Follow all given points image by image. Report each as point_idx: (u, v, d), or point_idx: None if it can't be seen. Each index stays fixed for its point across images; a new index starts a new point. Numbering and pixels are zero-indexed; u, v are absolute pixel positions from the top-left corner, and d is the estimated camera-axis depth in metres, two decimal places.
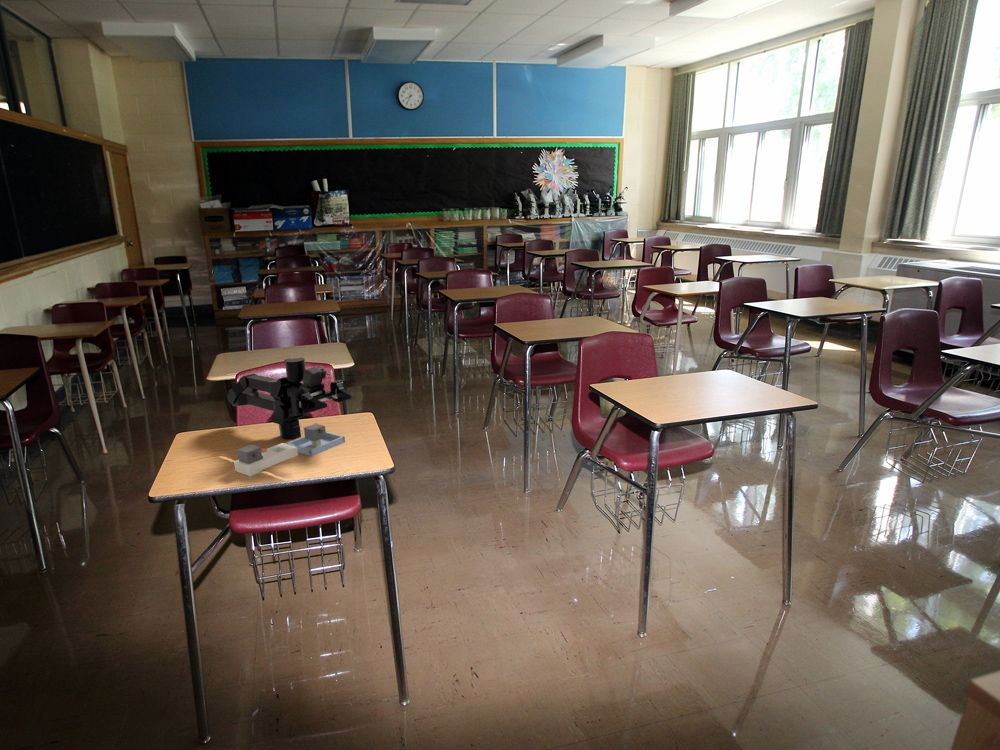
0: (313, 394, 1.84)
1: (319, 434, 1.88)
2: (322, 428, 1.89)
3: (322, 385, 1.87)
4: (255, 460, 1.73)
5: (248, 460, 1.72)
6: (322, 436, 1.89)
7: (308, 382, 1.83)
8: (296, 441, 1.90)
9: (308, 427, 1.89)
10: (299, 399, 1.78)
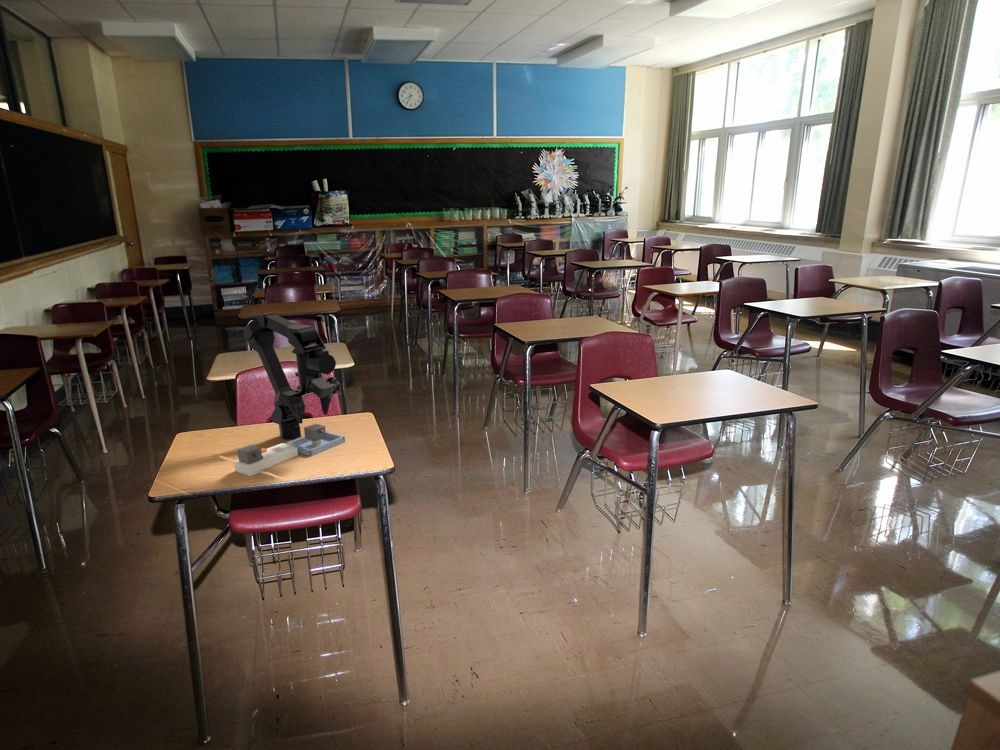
0: None
1: (319, 434, 1.88)
2: (322, 428, 1.89)
3: None
4: (255, 460, 1.73)
5: (248, 460, 1.72)
6: (322, 436, 1.89)
7: (313, 391, 1.81)
8: (296, 441, 1.90)
9: (308, 427, 1.89)
10: None
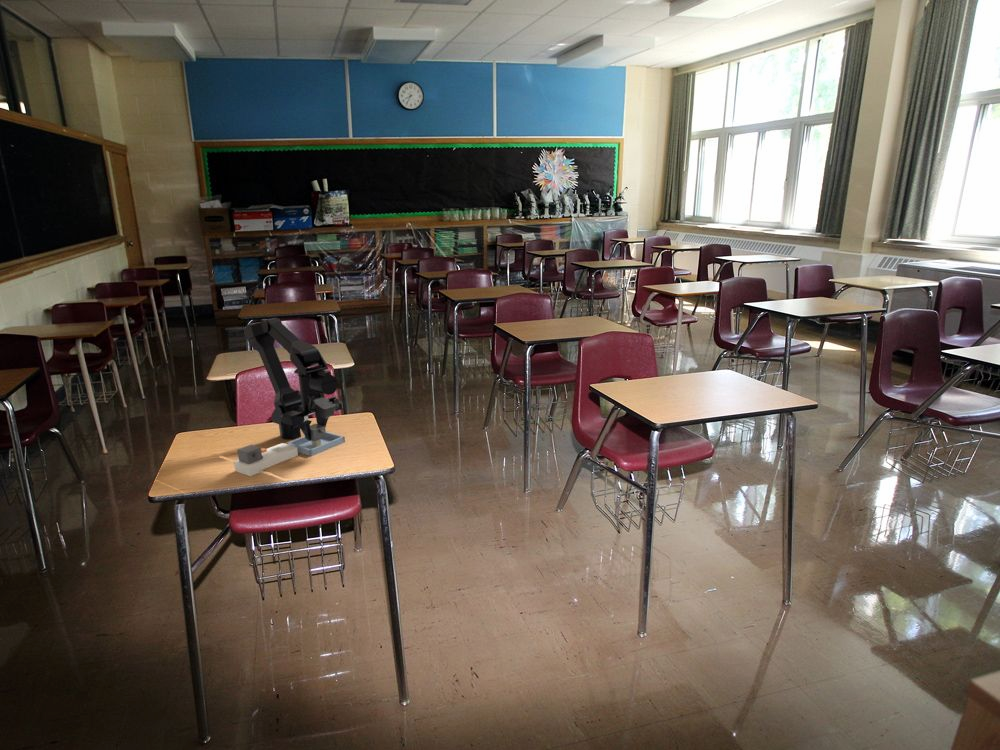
0: None
1: (319, 434, 1.88)
2: (322, 428, 1.89)
3: None
4: (255, 460, 1.73)
5: (248, 460, 1.72)
6: (322, 436, 1.89)
7: (316, 411, 1.83)
8: (296, 441, 1.90)
9: None
10: None
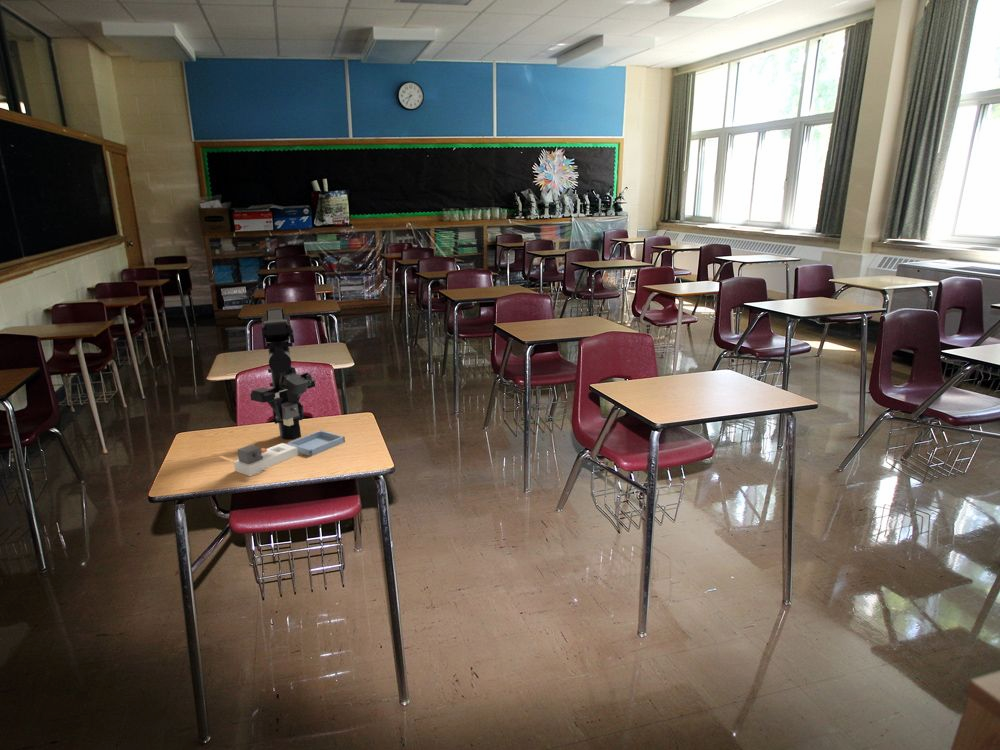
0: None
1: (291, 412, 1.80)
2: (294, 406, 1.81)
3: None
4: (255, 460, 1.73)
5: (248, 460, 1.72)
6: (294, 415, 1.81)
7: (287, 388, 1.75)
8: (296, 441, 1.90)
9: None
10: None
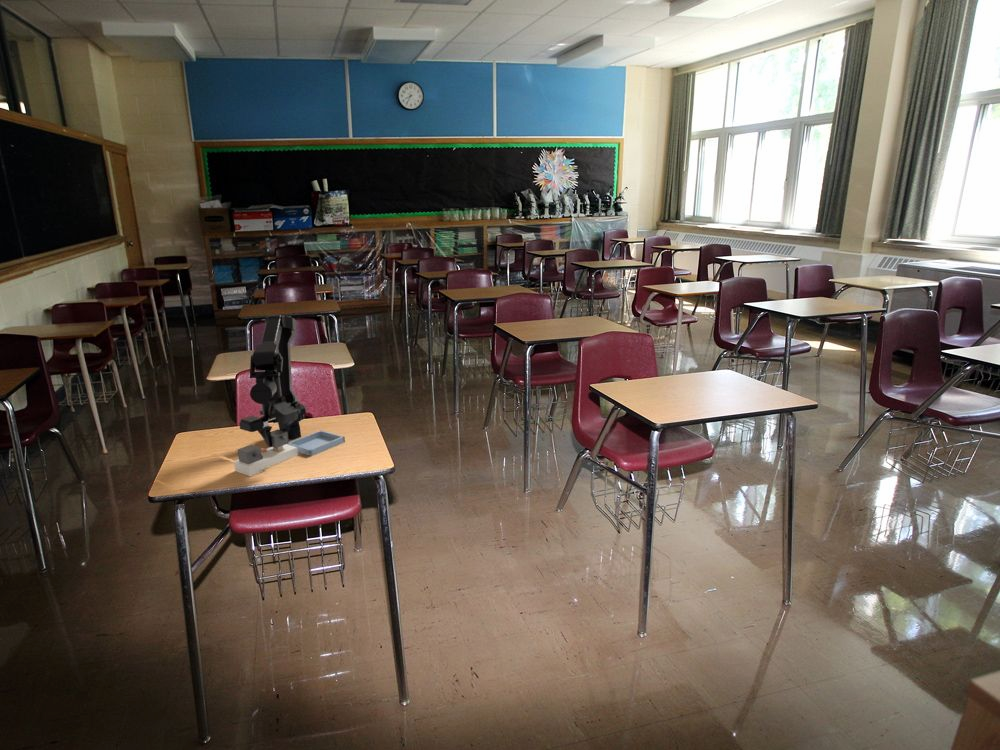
0: None
1: (281, 440, 1.79)
2: (284, 434, 1.80)
3: None
4: (255, 460, 1.73)
5: (248, 460, 1.72)
6: (284, 442, 1.81)
7: (276, 417, 1.74)
8: (296, 441, 1.90)
9: None
10: None
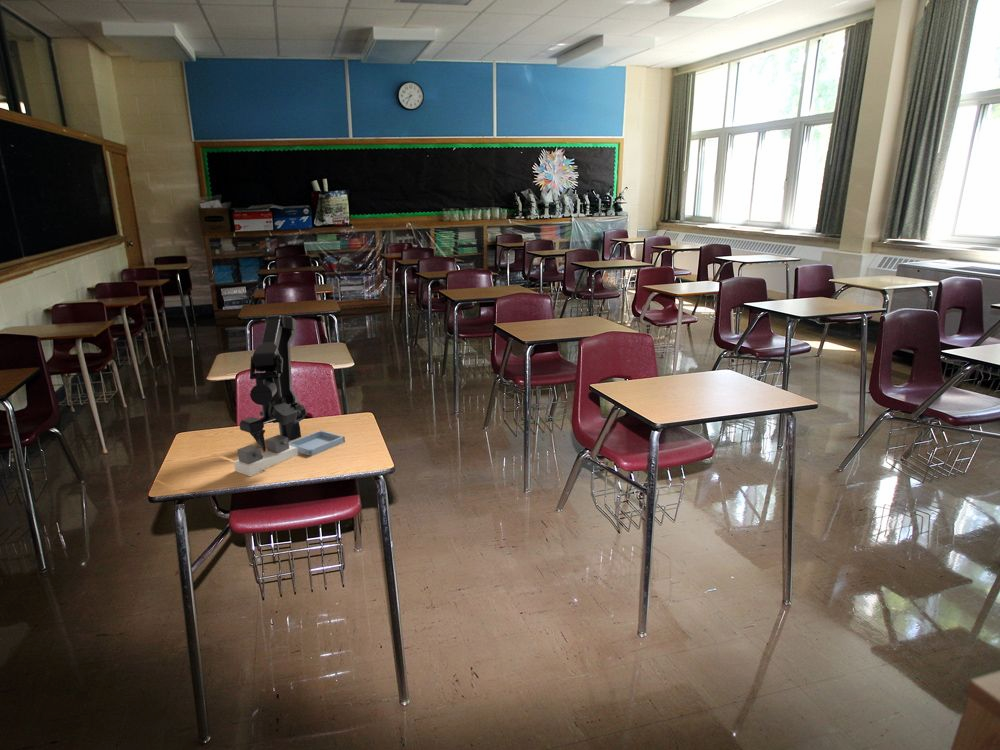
0: None
1: (281, 446, 1.80)
2: (285, 440, 1.81)
3: None
4: (255, 460, 1.73)
5: (248, 460, 1.72)
6: (285, 448, 1.81)
7: (276, 418, 1.74)
8: (296, 441, 1.90)
9: (270, 438, 1.81)
10: None
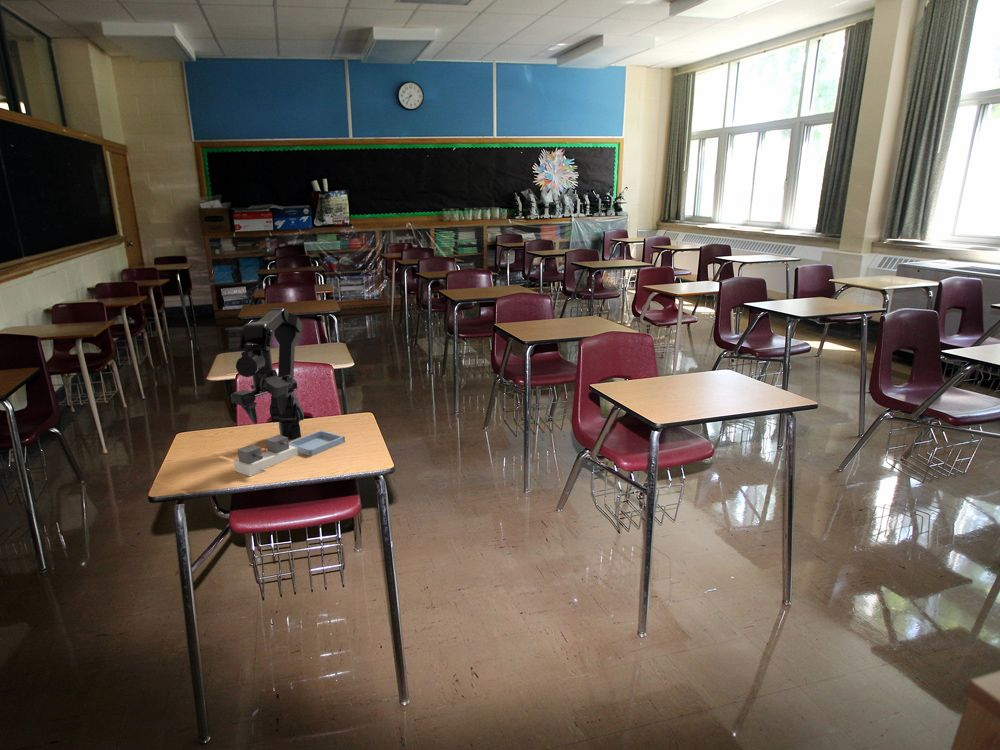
0: None
1: (281, 446, 1.80)
2: (285, 440, 1.81)
3: None
4: (255, 460, 1.73)
5: (248, 460, 1.72)
6: (285, 448, 1.81)
7: (268, 390, 1.74)
8: (296, 441, 1.90)
9: (270, 438, 1.81)
10: None
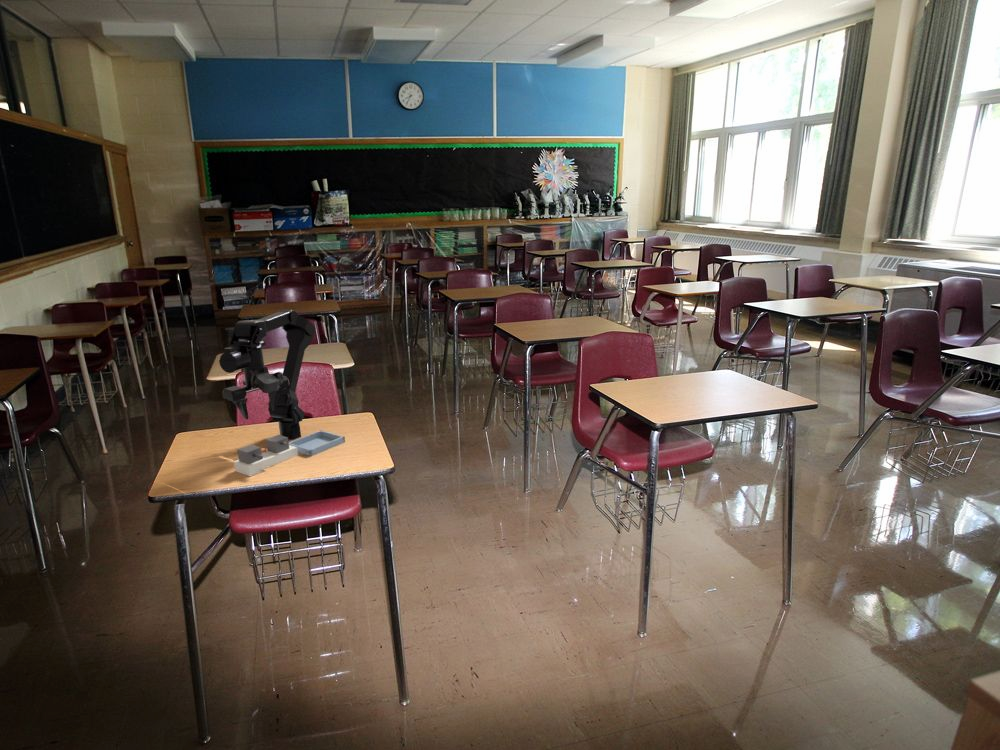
0: None
1: (281, 446, 1.80)
2: (285, 440, 1.81)
3: None
4: (255, 460, 1.73)
5: (248, 460, 1.72)
6: (285, 448, 1.81)
7: (258, 387, 1.77)
8: (296, 441, 1.90)
9: (270, 438, 1.81)
10: None
